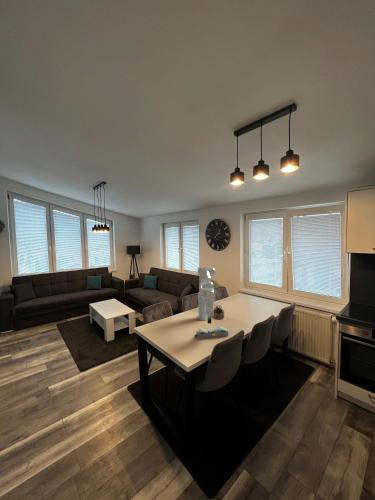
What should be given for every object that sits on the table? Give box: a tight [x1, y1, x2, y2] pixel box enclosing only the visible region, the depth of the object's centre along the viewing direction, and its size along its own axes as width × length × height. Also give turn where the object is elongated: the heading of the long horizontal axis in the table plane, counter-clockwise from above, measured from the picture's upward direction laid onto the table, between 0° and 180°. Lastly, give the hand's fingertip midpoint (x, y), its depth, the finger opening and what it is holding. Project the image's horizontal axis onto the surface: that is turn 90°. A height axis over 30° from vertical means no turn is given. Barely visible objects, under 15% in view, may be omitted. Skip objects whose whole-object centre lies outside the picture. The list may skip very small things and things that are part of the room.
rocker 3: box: [216, 326, 228, 331], centre depth 192 cm, size 4×8×2 cm, turn 104°
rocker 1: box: [198, 327, 208, 333], centre depth 188 cm, size 4×8×2 cm, turn 105°
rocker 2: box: [207, 326, 218, 332], centre depth 190 cm, size 4×8×2 cm, turn 104°
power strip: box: [194, 328, 229, 340], centre depth 191 cm, size 7×31×5 cm, turn 104°
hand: (209, 323), depth 189 cm, fingers closed
